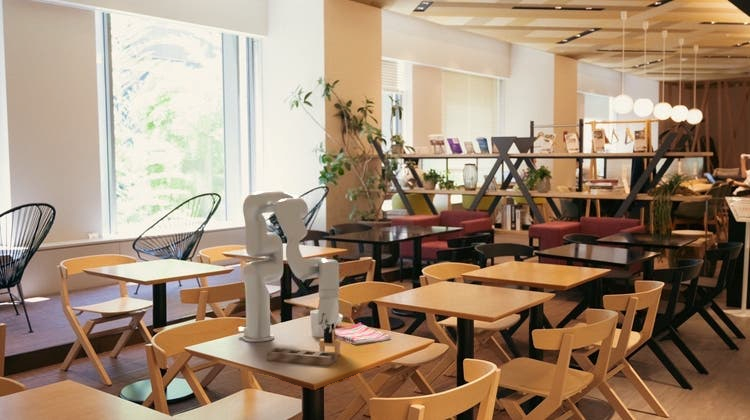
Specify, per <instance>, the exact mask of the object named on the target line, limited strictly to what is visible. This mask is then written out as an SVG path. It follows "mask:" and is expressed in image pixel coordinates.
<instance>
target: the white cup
mask: <svg viewBox="0 0 750 420" xmlns="http://www.w3.org/2000/svg"><path fill="white" fill-rule="evenodd" d="M309 313H310V315H309V316H310V317H309V318H310V327H311V329H310V330H311V336H312V337H314V338H324V332H323V329H322V324H318V309H313V310H312V309H311V310H310V311H309ZM326 324H328V323H326Z"/></svg>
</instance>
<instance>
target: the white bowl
mask: <svg viewBox="0 0 750 420" xmlns="http://www.w3.org/2000/svg"><path fill="white" fill-rule="evenodd" d="M343 318H344V315H342V314H341V313H339V319H338V320H337V322H336V325H335V327H338V326H339V325H340V324H341V323H342V322H343V321H342V320H343Z"/></svg>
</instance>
